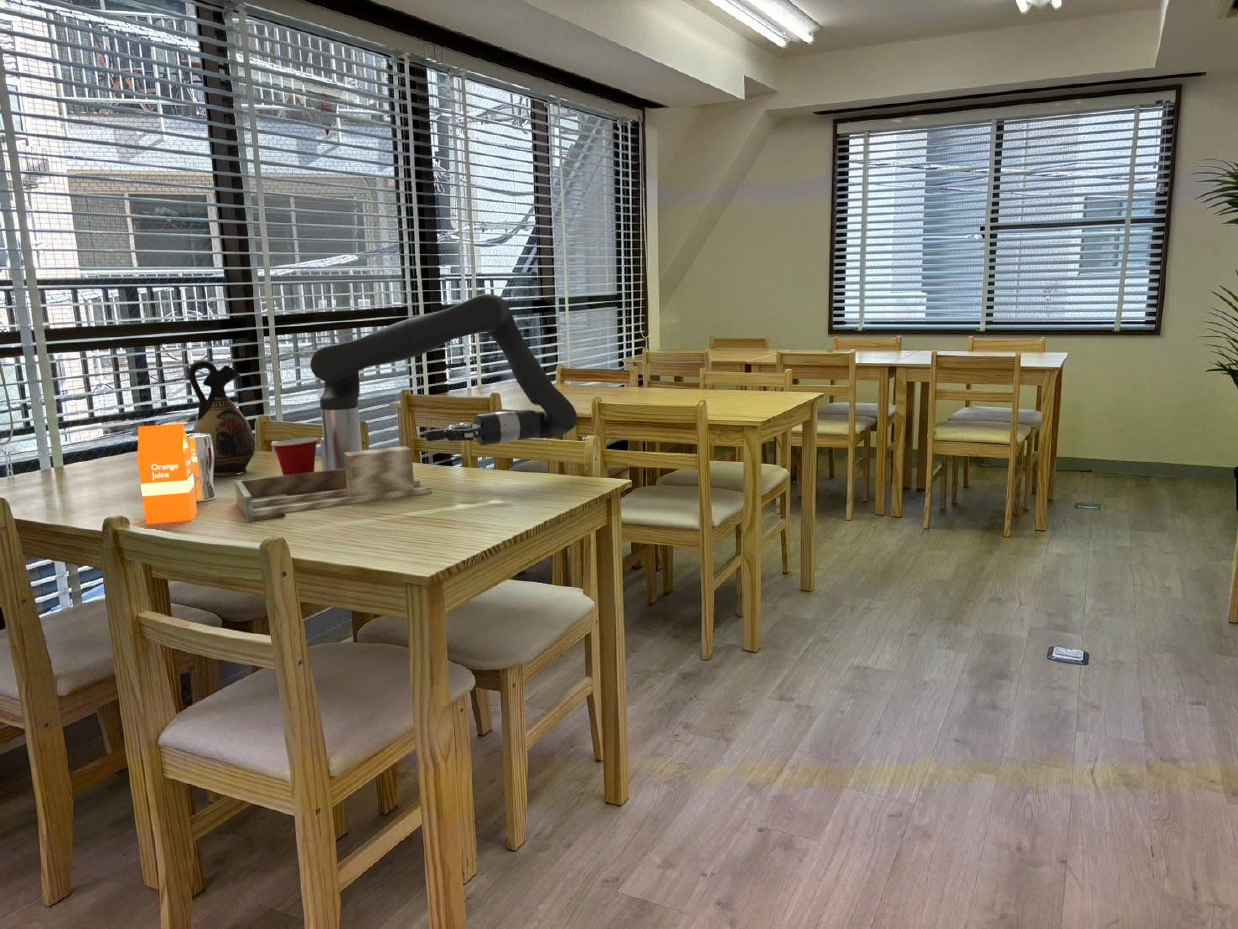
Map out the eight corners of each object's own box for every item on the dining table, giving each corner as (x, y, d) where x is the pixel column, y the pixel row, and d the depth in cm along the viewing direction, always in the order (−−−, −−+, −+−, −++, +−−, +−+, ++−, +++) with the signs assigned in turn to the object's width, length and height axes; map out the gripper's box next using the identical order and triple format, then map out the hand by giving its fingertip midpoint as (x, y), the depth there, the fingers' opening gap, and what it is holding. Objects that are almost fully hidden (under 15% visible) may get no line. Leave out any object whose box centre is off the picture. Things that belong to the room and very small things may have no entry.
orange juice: (192, 520, 191) (180, 426, 187) (145, 524, 189) (133, 429, 185) (197, 511, 198) (186, 421, 195) (153, 515, 196) (141, 424, 192)
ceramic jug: (252, 465, 251) (240, 356, 246) (262, 474, 238) (250, 359, 233) (185, 473, 243) (171, 360, 237) (192, 482, 230) (177, 364, 224)
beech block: (352, 500, 201) (348, 456, 199) (347, 496, 206) (343, 452, 204) (414, 492, 208) (411, 449, 206) (408, 488, 212) (405, 446, 210)
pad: (252, 506, 199) (252, 504, 199) (248, 500, 205) (248, 498, 205) (290, 501, 202) (290, 499, 202) (285, 495, 208) (285, 494, 208)
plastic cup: (304, 481, 227) (300, 434, 225) (332, 485, 221) (327, 437, 219) (266, 490, 219) (261, 440, 216) (293, 494, 212) (288, 444, 210)
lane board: (247, 521, 189) (245, 496, 188) (237, 503, 205) (234, 480, 204) (432, 496, 207) (430, 474, 206) (408, 481, 223) (407, 460, 222)
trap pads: (304, 499, 204) (304, 498, 204) (299, 493, 210) (299, 492, 210) (393, 488, 213) (393, 486, 213) (385, 482, 219) (385, 481, 219)
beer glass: (212, 494, 216) (204, 431, 213) (223, 498, 211) (216, 434, 208) (181, 499, 211) (173, 435, 208) (192, 504, 206) (184, 438, 203)
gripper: (486, 409, 222) (416, 417, 215) (506, 415, 211) (433, 423, 203) (488, 440, 224) (419, 448, 216) (508, 446, 212) (436, 456, 204)
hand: (426, 436), depth 209 cm, fingers closed
